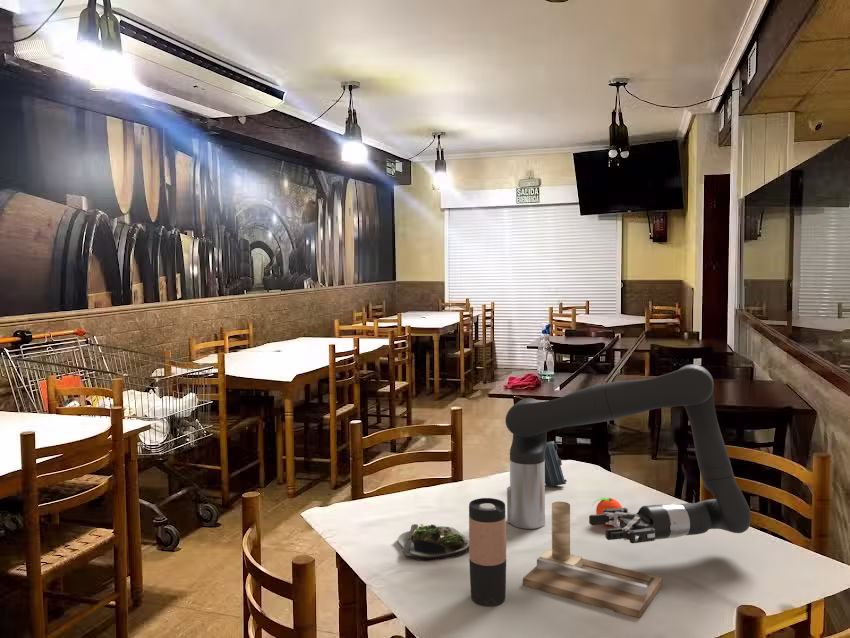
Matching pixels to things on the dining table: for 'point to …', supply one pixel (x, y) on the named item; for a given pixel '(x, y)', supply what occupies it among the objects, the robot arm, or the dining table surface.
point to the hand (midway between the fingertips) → (597, 527)
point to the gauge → (561, 537)
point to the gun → (553, 466)
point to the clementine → (607, 505)
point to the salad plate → (433, 542)
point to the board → (596, 584)
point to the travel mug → (487, 551)
